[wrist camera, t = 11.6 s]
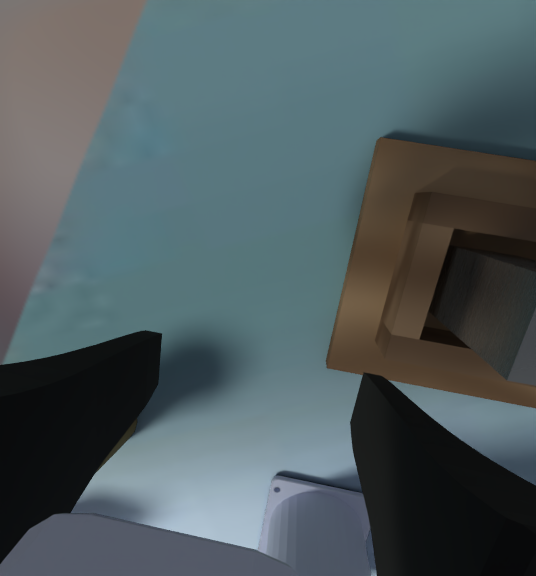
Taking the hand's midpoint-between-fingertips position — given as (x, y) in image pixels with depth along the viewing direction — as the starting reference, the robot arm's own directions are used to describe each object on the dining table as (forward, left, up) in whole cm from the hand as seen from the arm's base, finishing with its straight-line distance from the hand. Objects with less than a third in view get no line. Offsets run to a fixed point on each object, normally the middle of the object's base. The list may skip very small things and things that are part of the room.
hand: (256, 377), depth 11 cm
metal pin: (+3, -11, -9) cm, 15 cm away
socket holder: (+3, -11, -10) cm, 15 cm away
